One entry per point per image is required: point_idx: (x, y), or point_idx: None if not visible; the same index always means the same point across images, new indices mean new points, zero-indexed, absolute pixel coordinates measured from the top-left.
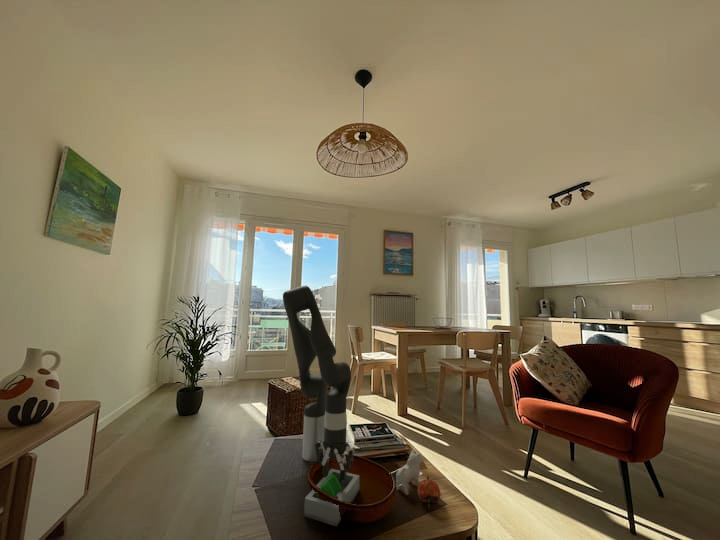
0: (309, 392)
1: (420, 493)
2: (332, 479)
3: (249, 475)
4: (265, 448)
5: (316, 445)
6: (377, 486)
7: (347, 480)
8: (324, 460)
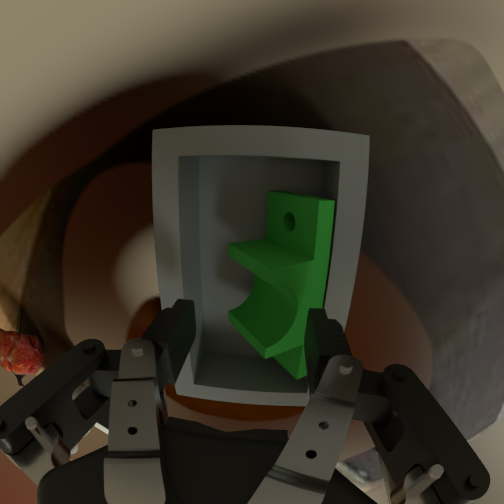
0: None
1: (18, 338)
2: (275, 333)
3: None
4: None
5: (477, 476)
6: None
7: (230, 373)
8: (340, 389)
